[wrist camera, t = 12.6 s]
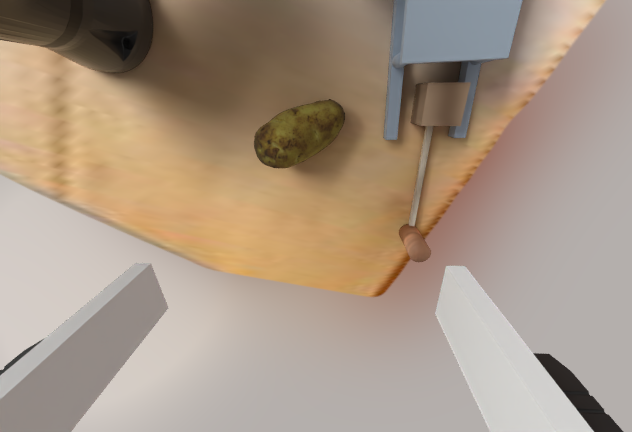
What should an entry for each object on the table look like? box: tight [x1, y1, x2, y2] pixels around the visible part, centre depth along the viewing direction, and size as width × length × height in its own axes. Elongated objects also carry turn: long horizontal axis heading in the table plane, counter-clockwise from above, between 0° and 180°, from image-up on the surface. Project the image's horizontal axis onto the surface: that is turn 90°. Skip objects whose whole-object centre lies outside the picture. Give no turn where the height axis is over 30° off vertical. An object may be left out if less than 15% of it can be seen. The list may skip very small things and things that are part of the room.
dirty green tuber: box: [254, 99, 345, 168], centre depth 35 cm, size 8×13×8 cm, turn 97°
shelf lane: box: [384, 0, 523, 140], centre depth 29 cm, size 11×24×8 cm, turn 2°
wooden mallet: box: [399, 82, 471, 262], centre depth 37 cm, size 5×25×7 cm, turn 0°
